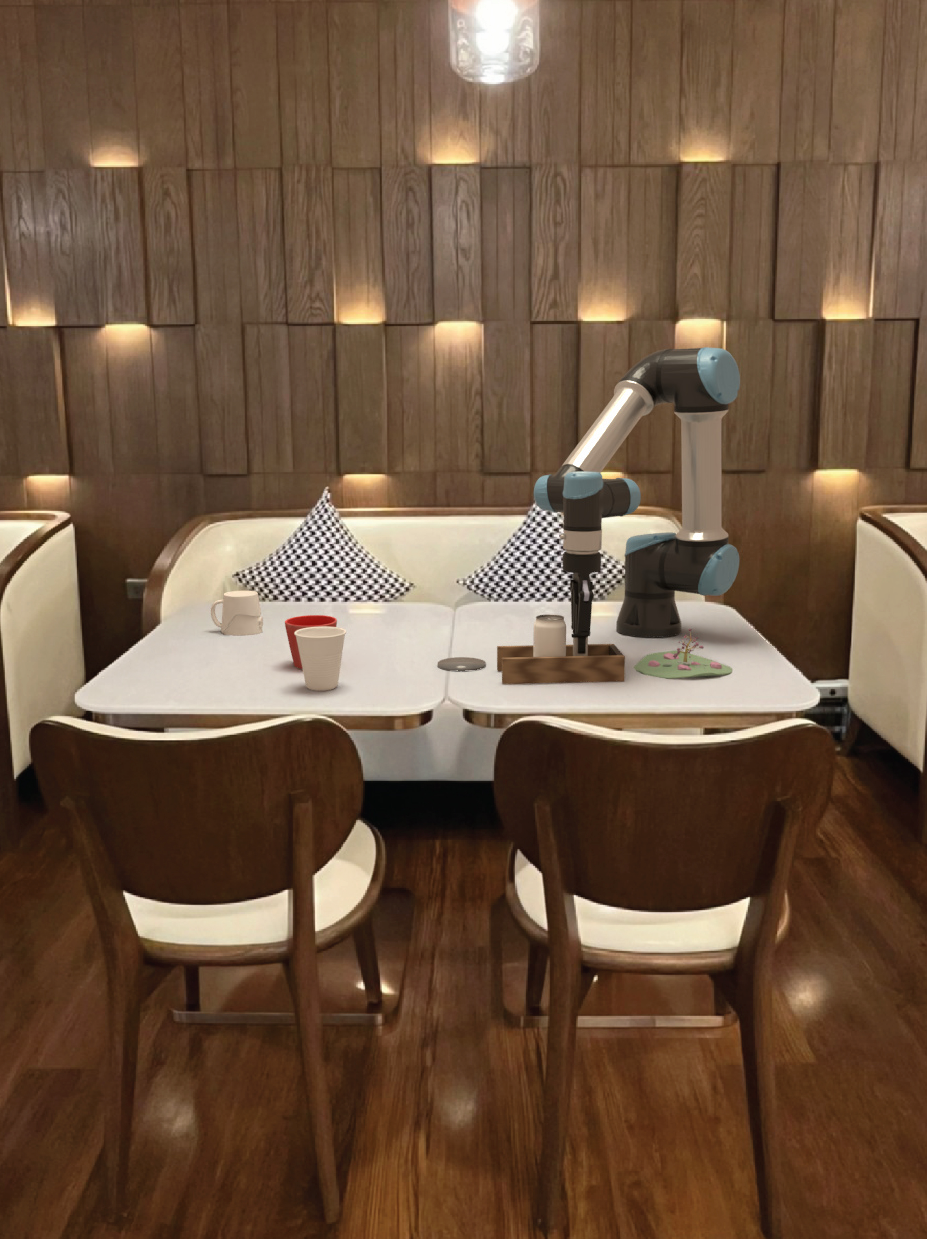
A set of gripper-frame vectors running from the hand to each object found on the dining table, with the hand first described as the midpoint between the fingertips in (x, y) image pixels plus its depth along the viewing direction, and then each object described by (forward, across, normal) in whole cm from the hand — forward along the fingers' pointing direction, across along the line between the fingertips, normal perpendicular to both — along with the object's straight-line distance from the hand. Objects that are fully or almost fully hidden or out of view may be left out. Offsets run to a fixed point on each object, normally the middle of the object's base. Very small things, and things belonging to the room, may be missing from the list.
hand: (580, 668), depth 230 cm
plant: (+2, -7, +22) cm, 23 cm away
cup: (+2, +5, -51) cm, 51 cm away
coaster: (+2, -10, -23) cm, 25 cm away
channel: (+2, 0, -4) cm, 4 cm away
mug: (+2, -48, -74) cm, 88 cm away
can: (+2, 0, -6) cm, 6 cm away
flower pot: (+2, -13, -54) cm, 56 cm away
